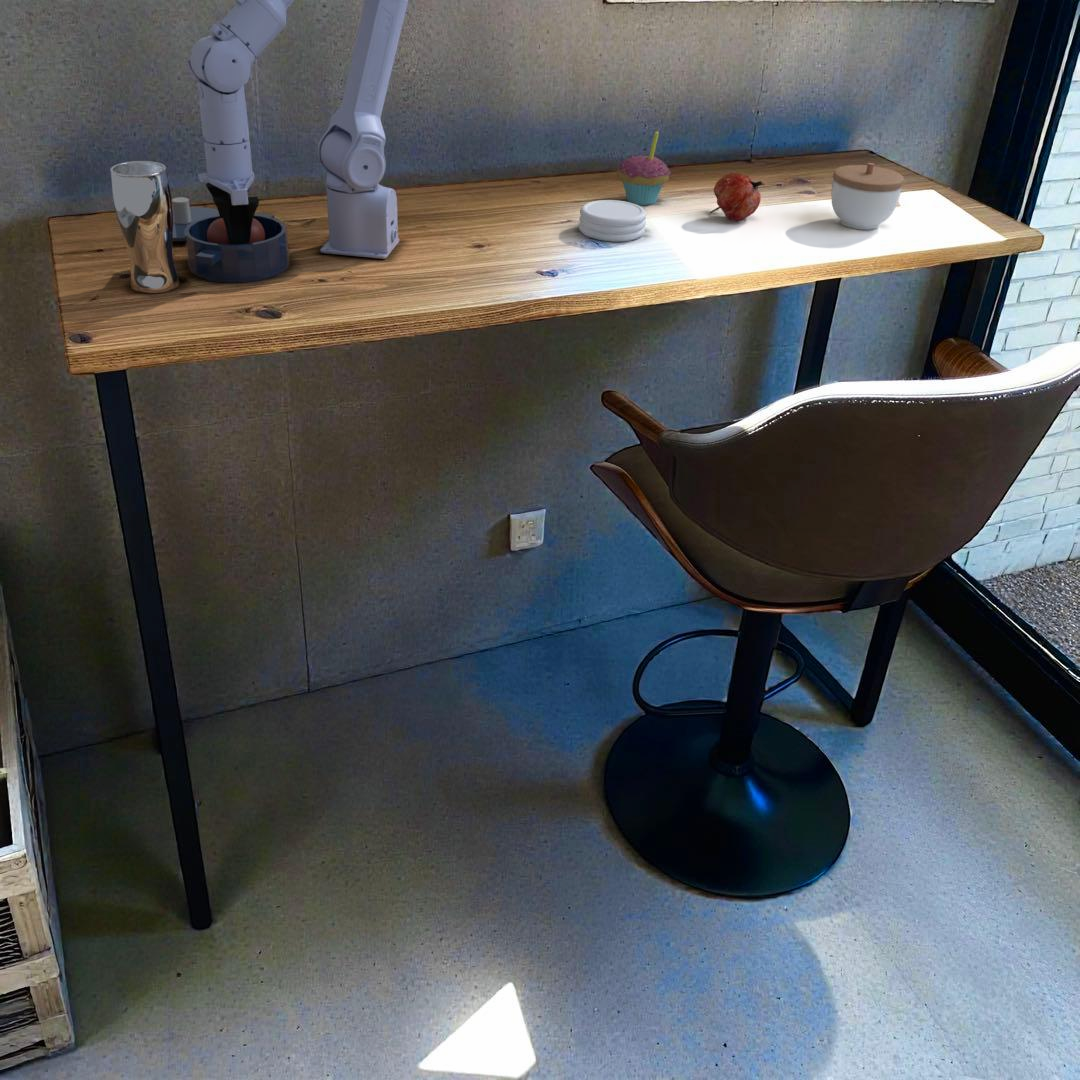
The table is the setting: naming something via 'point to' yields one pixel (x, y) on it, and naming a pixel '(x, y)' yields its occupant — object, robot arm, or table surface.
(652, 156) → the cupcake
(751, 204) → the pomegranate
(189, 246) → the pan
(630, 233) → the coaster
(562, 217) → the table surface
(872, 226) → the lidded sugar bowl
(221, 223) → the red ribbed oval
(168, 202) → the beer glass
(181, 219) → the pan lid
